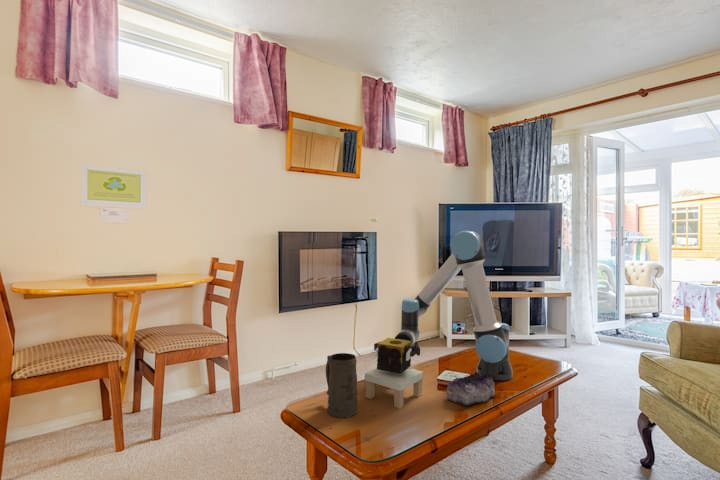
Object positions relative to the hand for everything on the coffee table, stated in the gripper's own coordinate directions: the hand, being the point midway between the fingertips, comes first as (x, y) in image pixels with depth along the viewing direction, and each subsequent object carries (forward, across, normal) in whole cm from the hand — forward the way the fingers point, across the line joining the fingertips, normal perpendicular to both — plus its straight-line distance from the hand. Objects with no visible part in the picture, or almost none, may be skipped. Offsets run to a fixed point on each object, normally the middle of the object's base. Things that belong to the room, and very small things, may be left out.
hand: (391, 355), depth 147 cm
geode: (-12, -28, -17) cm, 35 cm away
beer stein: (+14, +16, -17) cm, 27 cm away
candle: (-4, 0, -6) cm, 7 cm away
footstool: (-4, 0, -17) cm, 17 cm away
